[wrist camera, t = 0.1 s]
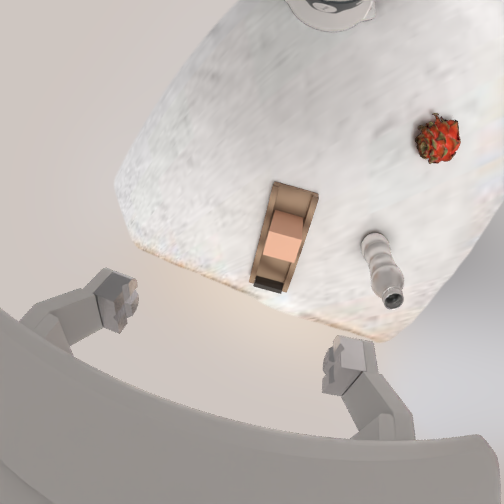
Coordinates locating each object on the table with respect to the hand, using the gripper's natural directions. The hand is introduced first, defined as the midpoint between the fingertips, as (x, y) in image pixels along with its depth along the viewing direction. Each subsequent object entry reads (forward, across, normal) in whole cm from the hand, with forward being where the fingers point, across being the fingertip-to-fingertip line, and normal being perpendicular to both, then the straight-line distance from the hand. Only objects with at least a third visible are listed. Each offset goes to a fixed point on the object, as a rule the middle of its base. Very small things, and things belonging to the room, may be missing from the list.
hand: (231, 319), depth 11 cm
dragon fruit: (+48, -27, -11) cm, 56 cm away
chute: (+48, -3, +21) cm, 52 cm away
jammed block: (+47, -3, +17) cm, 50 cm away
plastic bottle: (+48, -23, +16) cm, 56 cm away
